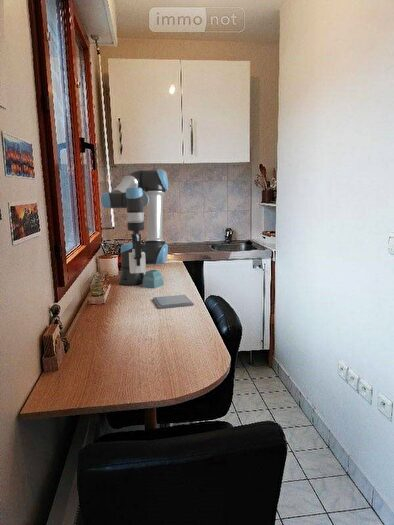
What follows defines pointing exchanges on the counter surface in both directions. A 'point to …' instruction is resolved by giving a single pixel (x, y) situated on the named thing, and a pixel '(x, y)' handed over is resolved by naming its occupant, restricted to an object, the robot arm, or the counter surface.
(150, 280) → the teal faceted dome
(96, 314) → the counter surface
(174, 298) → the plate
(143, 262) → the plug
